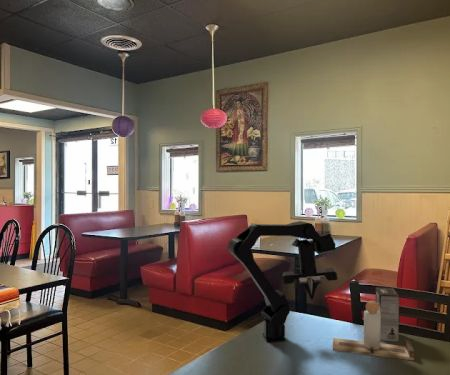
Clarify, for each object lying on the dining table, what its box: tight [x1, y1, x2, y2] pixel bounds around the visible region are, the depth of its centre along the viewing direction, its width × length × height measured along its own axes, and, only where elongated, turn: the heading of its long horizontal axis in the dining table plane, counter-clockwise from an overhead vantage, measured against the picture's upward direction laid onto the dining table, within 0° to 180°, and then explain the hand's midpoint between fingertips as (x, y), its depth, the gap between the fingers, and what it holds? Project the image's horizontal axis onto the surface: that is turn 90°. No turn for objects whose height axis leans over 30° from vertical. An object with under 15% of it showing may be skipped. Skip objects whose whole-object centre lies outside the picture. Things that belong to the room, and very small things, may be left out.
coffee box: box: [375, 286, 400, 342], centre depth 136 cm, size 9×6×16 cm
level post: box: [363, 300, 381, 350], centre depth 125 cm, size 5×5×15 cm
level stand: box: [332, 337, 415, 361], centre depth 126 cm, size 24×9×3 cm, turn 73°
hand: (311, 299), depth 139 cm, fingers closed
